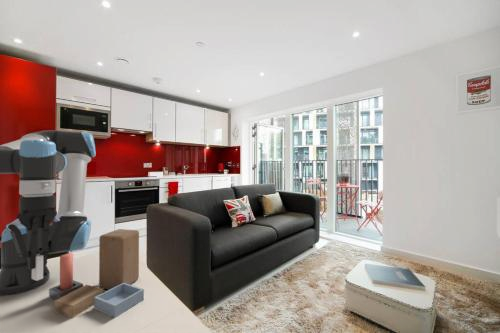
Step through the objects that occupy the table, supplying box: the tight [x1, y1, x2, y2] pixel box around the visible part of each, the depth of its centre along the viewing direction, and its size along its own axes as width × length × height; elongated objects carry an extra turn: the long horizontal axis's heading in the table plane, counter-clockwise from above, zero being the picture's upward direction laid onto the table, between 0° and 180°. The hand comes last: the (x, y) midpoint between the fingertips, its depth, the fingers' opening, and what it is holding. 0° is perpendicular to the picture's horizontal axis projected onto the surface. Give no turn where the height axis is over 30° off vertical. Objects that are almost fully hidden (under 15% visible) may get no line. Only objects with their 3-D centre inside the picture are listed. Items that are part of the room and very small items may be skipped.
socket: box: [48, 279, 84, 301], centre depth 80 cm, size 7×7×3 cm
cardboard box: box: [54, 284, 105, 318], centre depth 74 cm, size 8×10×4 cm
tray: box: [93, 283, 145, 318], centre depth 75 cm, size 10×10×4 cm
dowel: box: [59, 252, 74, 291], centre depth 80 cm, size 4×4×14 cm
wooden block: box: [98, 228, 140, 290], centre depth 88 cm, size 10×10×20 cm
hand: (37, 278), depth 64 cm, fingers closed
